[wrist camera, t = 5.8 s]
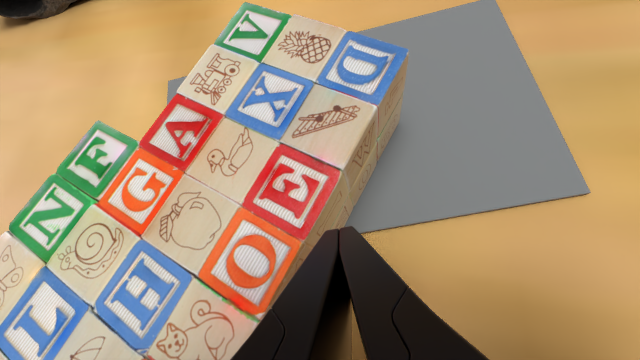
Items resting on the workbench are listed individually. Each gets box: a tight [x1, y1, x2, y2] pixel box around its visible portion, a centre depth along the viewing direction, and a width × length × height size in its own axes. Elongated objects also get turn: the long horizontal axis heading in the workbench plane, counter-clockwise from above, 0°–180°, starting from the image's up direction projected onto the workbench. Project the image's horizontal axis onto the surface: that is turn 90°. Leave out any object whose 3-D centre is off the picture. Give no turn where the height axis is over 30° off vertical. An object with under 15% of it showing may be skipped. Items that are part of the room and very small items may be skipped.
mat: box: [167, 0, 591, 234], centre depth 19 cm, size 14×24×1 cm, turn 98°
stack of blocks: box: [0, 2, 409, 360], centre depth 15 cm, size 21×6×12 cm
